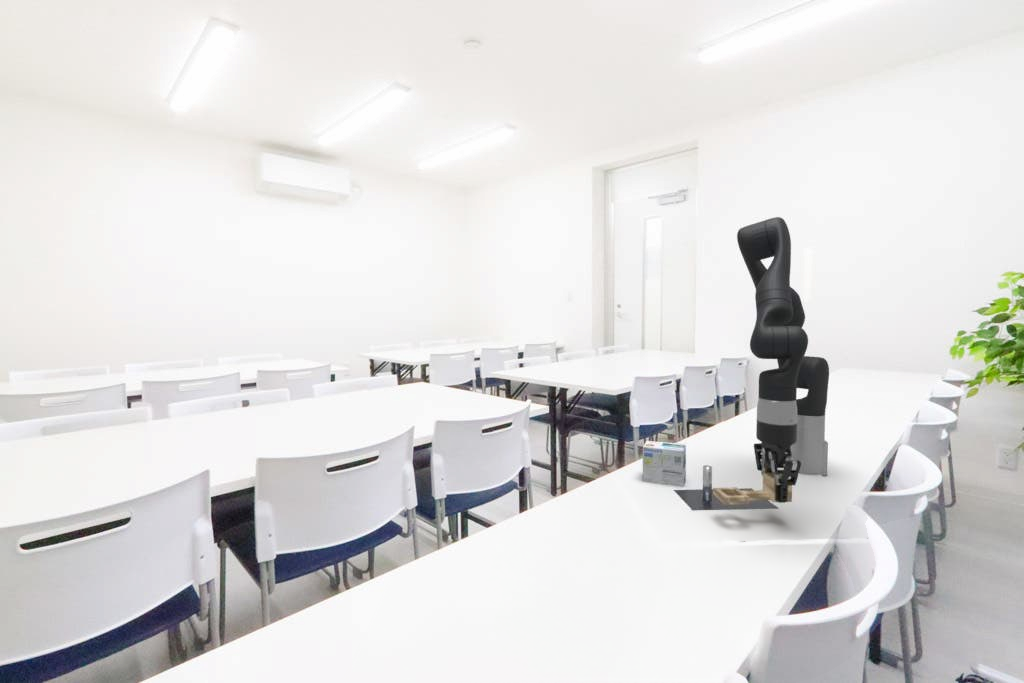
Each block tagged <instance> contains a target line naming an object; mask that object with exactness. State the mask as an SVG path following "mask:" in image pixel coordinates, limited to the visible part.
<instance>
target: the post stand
mask: <svg viewBox="0 0 1024 683" xmlns="http://www.w3.org/2000/svg"><path fill="white" fill-rule="evenodd" d="M739 489H740V490H741V491H753V490H754V489H753V488H751V487H750V488H747V487H746V488H739ZM673 491H674V492H675V494H677V496H679V498H680V499H681V500H683V502H684V503H685V504H686V505H687V506H688V508H690V509H691V510H692V511H720V510H721V511H726V510H727V511H729V510H731V511H732V510H767V509H768V510H770V509H772V510H773V509H780V508H779V507H778V506H777V505H775V504H773V502H772V501H771V500H749V504H731V505H725V504H724V503H722V502H721V501H720V500H719V499H718V498H717V497H716V496H715V495H713V466H711V465H708V464H707V465H703V466H702V489H701V488H700V489H673Z"/></svg>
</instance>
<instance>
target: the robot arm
mask: <svg viewBox="0 0 1024 683" xmlns="http://www.w3.org/2000/svg"><path fill="white" fill-rule="evenodd" d="M736 238H737V239H736V240H737V245H738V248H739V251H740V253H741V256H742V259H743V261H744V263H745V266H746V269H747V271H748V272H749V275H750V277H751V280H752V282H753V284H754V288H755V298H754V300H755V309H756V321H755V324H754V327H753V331H752V333H751V337H750V341H749V347H750V351H751V353H752V355H754V356H755V357H756V358H757V359H762V360H777V366H778V368H771V369H767V370H766V369H765V370H764V371H761V372H760V373H759V376H758V399H757V405H756V439H757V440H758V441H760V442H761V443H759V442H758V443H754V444H753V450H754V456H755V457H754V458H755V463H756V464H755V465H756V468H757V471H759V472H761V473H760V474H761V476H762V477H763V473H769V472H772V473H774V474H775V482H776V488H775V500H776V501H777V502H776V503H779V504H780V503H781V504H782V503H788V502H787V499H788V486H789V485H792V486H796V484H797V480H798V476H799V474H800V475H805V476H807V475H808V476H822V477H824V476H828V460H829V458H828V457H829V456H828V454H829V452H828V451H829V442H828V441H827V440H826V439H825V436H826V434H825V432H826V409H827V408H826V407H827V402H828V393H829V392H828V390H829V389H828V388H829V381H830V380H829V378H830V366H829V363H828V361H827V360H826V358H824V357H820V356H809V355H808V356H807V355H806V352H807V349H808V346H809V338H808V337H809V336H808V334H807V332H806V331H805V329H804V328H803V326H804V324H805V320H806V315H805V313H806V312H805V309H804V307H803V303H802V300H801V297H800V295H799V293H798V292H797V291H796V290H795V289H794V287H793V288H792V287H791V285H790V282H791V281H790V278H791V266H792V264H791V263H792V261H791V260H792V256H791V255H792V239H791V234H790V231H789V227H788V224H787V222H786V221H785V220H784V218H783V217H780V216H776V217H771V218H768V219H765V220H761V221H758V222H755V223H753V224H749V225H745V226H743V227H740V228H739V229H738V231H737V234H736ZM769 258H772V261H771V263H770V264H769V266H768V268H767V267H766V266H765V264H764V263H763V262H762V260H766V259H769ZM805 355H806V356H805ZM797 389H803V390H807V395H806V396H803V397H802V398H797V392H798V391H797ZM780 474H782V478H781V479H780ZM790 478H791V479H790Z"/></svg>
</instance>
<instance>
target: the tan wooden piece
mask: <svg viewBox="0 0 1024 683" xmlns="http://www.w3.org/2000/svg"><path fill="white" fill-rule="evenodd" d="M781 478H782V474H780V479H781ZM790 479H791V477H790ZM775 488H776V482H775V474H774V473H772V472H769V473H763V476H762V489H761V490H759V489H758V490H755V489H753V491H741V490H740V489H741V488H738V487H712V489H713V495H715V496H716V497H717V498H718V499H719V500H720V501H721V502H722V503H724V504H725V505H731V504H749V500H768V501H770V502H771V503H778V502H777V501H776V500H775ZM792 502H793V485H789V486H788V499H787V502H786V503H792Z"/></svg>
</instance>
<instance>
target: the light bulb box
mask: <svg viewBox="0 0 1024 683" xmlns="http://www.w3.org/2000/svg"><path fill="white" fill-rule="evenodd" d="M686 446H687V445H686V443H675V442H664V441H652V440H646V441H645V443H644V444H643V446H642V482H644V483H645V482H646V483H651V484H659V485H666V486H673V487H680V488H684V487H685V484H686V481H687V479H686V478H687V468H686V467H687V465H686V464H687V454H686V452H687V451H686V450H687V448H686Z"/></svg>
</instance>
